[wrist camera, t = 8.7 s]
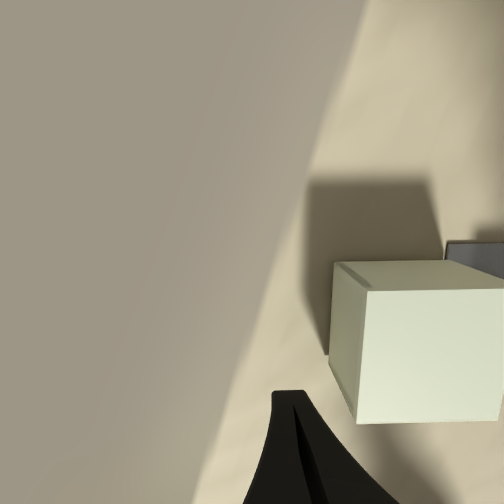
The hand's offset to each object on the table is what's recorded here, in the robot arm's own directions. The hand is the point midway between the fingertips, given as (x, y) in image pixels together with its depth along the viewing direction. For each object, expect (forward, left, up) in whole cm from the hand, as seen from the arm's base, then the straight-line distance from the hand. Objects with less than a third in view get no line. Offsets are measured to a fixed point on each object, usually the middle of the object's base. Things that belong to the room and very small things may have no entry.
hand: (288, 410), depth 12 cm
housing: (-8, 0, -9) cm, 12 cm away
